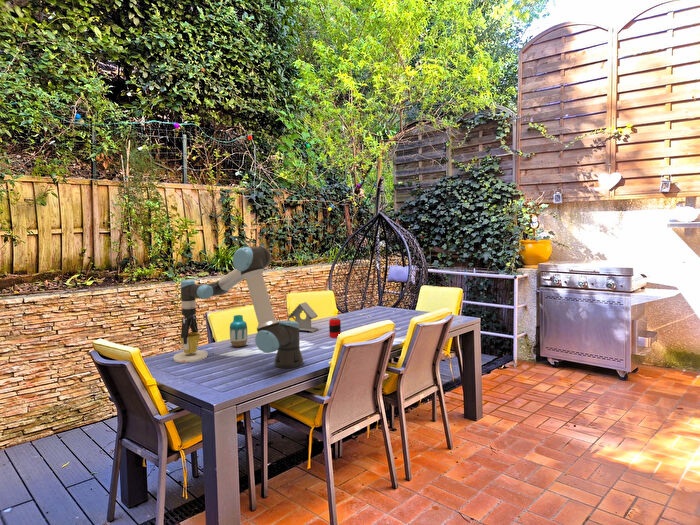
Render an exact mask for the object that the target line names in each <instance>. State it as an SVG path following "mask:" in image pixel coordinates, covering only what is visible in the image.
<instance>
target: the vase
mask: <svg viewBox="0 0 700 525" xmlns="http://www.w3.org/2000/svg"><path fill="white" fill-rule="evenodd" d="M243 318H244V317H243V315H242V314H235V315H233V320H232V322H231V323H230V324H229V340H230V343H231V346H233V347H237V348H238V347H244V346H245V345H246V344H247V342H248V324H247V322H246V321H245V320H244V319H243Z"/></svg>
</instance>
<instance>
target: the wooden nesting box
mask: <svg viewBox="0 0 700 525" xmlns="http://www.w3.org/2000/svg"><path fill="white" fill-rule="evenodd" d="M302 313H305V318H301V314H302ZM287 317H288V319H292V318H294V319H295V320H294V321H296V322H298V323H299V328H300V329H299V331H309V334H312V333H315V332H317V331H318V329H319V328H318V327H312V320H313V319H316V318H318V314H317V313H316V311H314V309H313V308H312V307H311V306H310V305H309V304H308V302H307V301H305V302H302V303H299V304H298V305H297V306H296V307H295V308H294V310H293V311H292V312H291V313H290V314H289V315H288V316H287ZM311 332H312V333H311Z"/></svg>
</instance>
